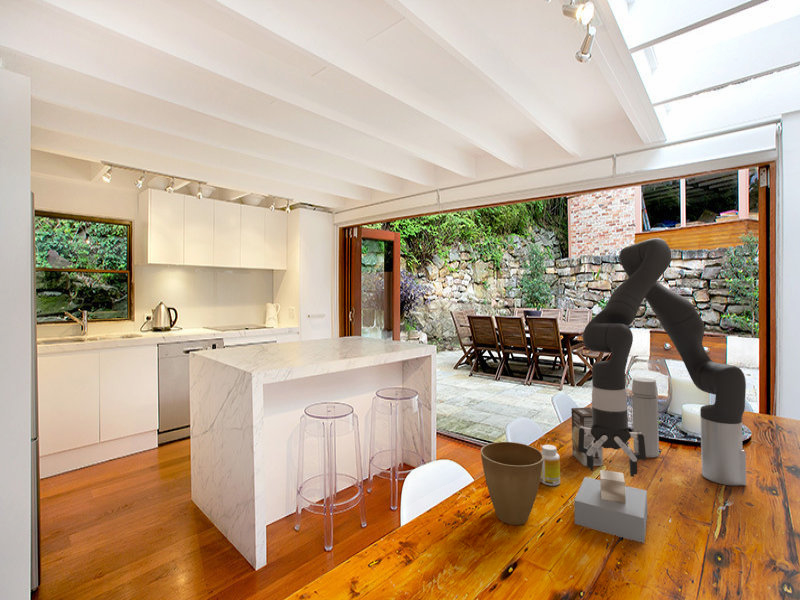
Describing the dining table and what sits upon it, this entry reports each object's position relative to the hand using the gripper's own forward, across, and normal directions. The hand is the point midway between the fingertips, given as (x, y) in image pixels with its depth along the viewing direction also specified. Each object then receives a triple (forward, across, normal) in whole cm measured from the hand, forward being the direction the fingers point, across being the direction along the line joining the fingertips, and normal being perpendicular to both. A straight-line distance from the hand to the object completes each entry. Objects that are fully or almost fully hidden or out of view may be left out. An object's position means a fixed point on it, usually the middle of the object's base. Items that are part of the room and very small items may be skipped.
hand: (611, 472), depth 93 cm
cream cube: (+6, 0, 0) cm, 6 cm away
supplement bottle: (+11, +15, -14) cm, 24 cm away
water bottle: (+12, -12, -46) cm, 49 cm away
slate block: (+12, 0, 0) cm, 12 cm away
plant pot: (+11, +22, +8) cm, 26 cm away
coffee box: (+12, +5, -34) cm, 36 cm away
